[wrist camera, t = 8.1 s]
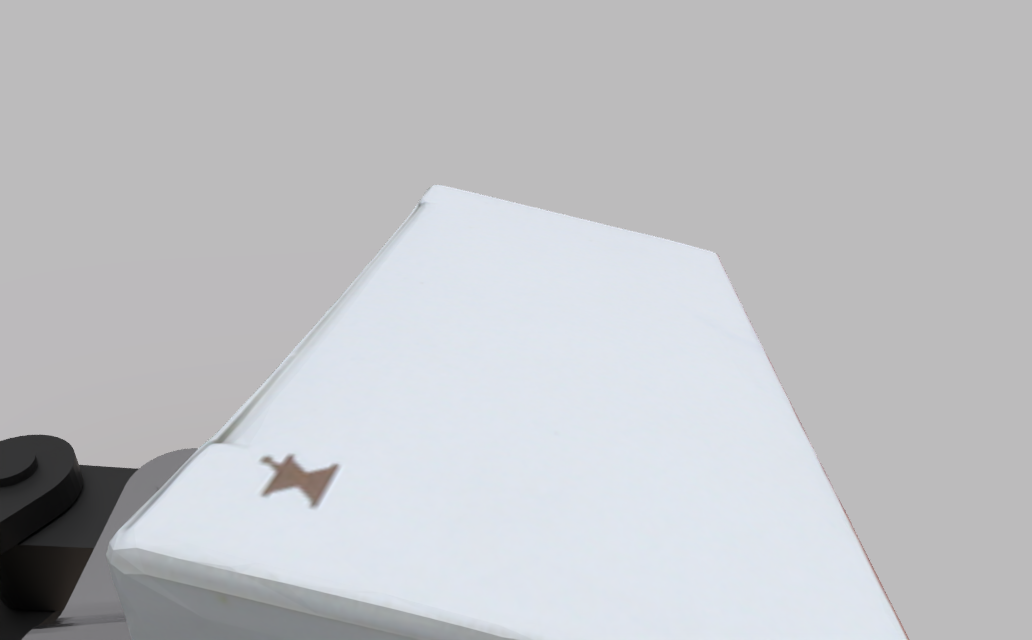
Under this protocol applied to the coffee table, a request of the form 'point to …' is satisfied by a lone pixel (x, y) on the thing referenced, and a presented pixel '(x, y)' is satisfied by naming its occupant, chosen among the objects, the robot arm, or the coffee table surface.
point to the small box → (509, 460)
